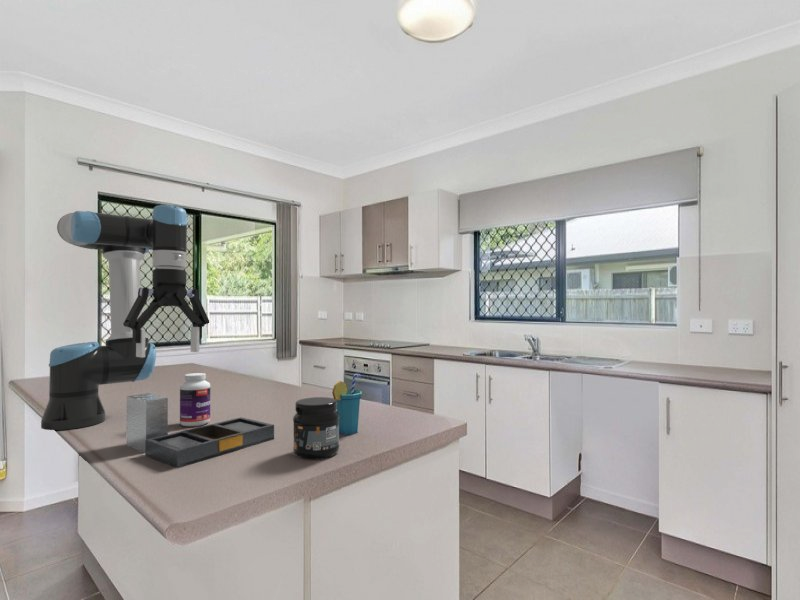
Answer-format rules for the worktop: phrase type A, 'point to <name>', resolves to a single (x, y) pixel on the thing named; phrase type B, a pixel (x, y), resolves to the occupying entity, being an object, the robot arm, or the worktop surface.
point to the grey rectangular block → (145, 419)
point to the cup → (347, 406)
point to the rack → (207, 441)
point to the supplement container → (316, 428)
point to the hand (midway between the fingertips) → (169, 354)
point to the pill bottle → (195, 400)
